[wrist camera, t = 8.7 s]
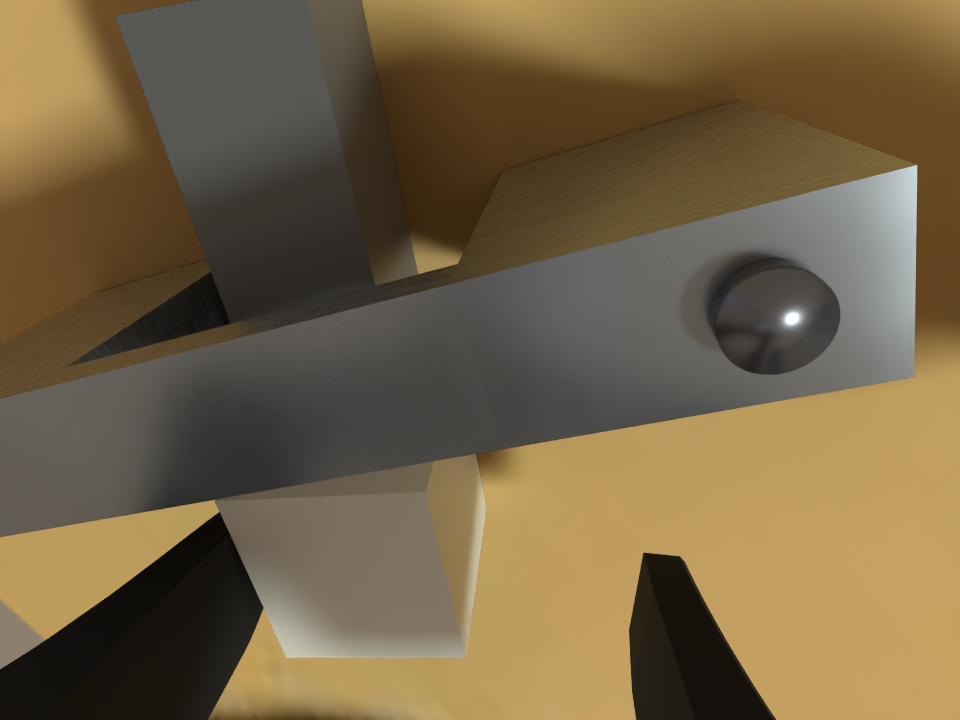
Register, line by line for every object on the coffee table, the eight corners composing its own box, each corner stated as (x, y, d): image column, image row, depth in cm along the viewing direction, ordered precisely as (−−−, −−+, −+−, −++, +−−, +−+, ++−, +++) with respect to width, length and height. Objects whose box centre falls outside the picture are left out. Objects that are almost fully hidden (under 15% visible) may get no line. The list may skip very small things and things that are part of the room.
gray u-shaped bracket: (93, 292, 13) (-217, 461, 8) (739, 99, 10) (938, 171, 4) (143, 370, 14) (-108, 568, 9) (752, 217, 10) (931, 393, 5)
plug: (187, 26, 10) (-5, 19, 7) (389, -12, 9) (296, -42, 6) (347, 514, 15) (286, 657, 12) (486, 509, 15) (465, 657, 11)
